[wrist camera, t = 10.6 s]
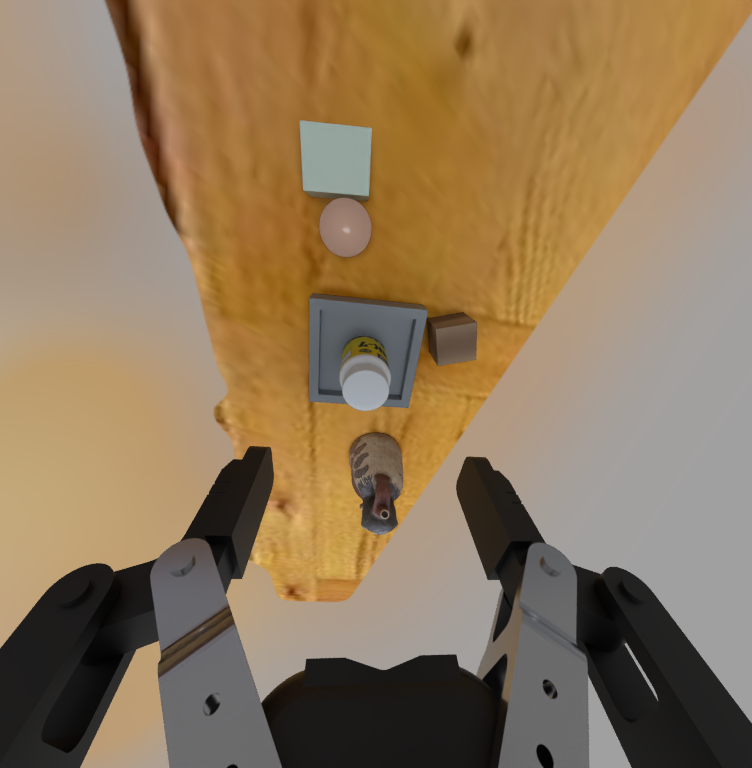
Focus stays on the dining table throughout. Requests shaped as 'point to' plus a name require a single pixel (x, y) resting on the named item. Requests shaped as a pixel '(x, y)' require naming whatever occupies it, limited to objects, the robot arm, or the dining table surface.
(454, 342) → the walnut block
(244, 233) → the dining table surface
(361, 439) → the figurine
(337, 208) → the pink rounded capsule
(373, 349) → the supplement bottle
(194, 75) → the dining table surface
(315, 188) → the sage block
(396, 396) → the tray
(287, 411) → the dining table surface
